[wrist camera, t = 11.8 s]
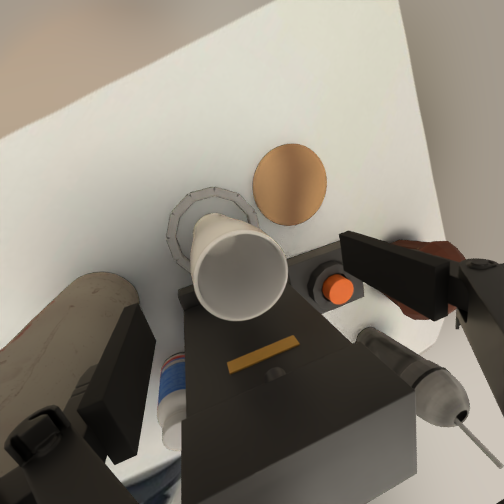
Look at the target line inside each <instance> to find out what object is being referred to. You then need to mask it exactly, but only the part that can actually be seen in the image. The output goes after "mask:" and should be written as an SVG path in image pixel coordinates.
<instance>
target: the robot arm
mask: <svg viewBox="0 0 504 504" xmlns="http://www.w3.org/2000/svg"><path fill="white" fill-rule="evenodd" d="M339 238H340V246H341V254H342V262H343V269H344V271H345V272H347V273H349V274H350V275H352V276H354V277H356V278H357V279H359V280H361V281H363V282H365V283H366V284H368V285H370V286H372V287H374V288H375V289H377V290H379V291H381V292H382V293H384V294H386V295H388V296H390V297H391V298H393V299H395V300H397V301H398V302H400V303H402V304H404V305H406V306H407V307H409V308H411V309H413V310H415V311H416V312H418V313H420V314H422V315H423V316H425V317H427V318H429V319H431V320H432V321H434V322H435V321H437V320H439V319H441V318H444V317H446V316H448V304H450V305H452V306H455V307H457V309H456V329H459V326H460V325H461V326H462V328H463V330H464V332H465V335H466V337H467V339H468V341H469V343H470V345H471V347H472V350H473V352H474V354H475V356H476V358H477V360H478V363H479V365H480V367H481V369H482V371H483V373H484V375H485V378H486V380H487V382H488V384H489V386H490V388H491V390H492V393H493V395H494V397H495V399H496V401H497V403H498V406H499V408H500V410H501V412H502V414H503V416H504V263H503V264H498V263H497V262H494V261H491V260H486V259H466V260H463V261H461V262H457V261H453V260H450V259H447V258H443V257H440V256H436V255H433V254H430V253H425V252H423V251H419V250H416V249H408V248H405V247H402V246H398V245H395V244H392V243H388V242H385V241H382V240H378V239H375V238H372V237H368V236H365V235H362V234H358V233H355V232H352V231H346V232H344V233H341V234H339ZM155 344H156V339H155V337H154V335H153V333H152V331H151V329H150V327H149V325H148V322H147V320H146V318H145V316H144V314H143V312H142V310H141V308H140V305H139V303H135V304H132V305H129V306H127V307H124V309H123V311H122V313H121V315H120V318H119V320H118V322H117V324H116V326H115V328H114V331H113V333H112V335H111V337H110V339H109V341H108V343H107V346H106V348H105V350H104V352H103V354H102V356H101V359H100V361H99V363H98V364H95V365H93V366H90V367H89V368H88V369H87V370H86V372H85V373H84V374H83V375H82V376H81V377H80V379H79V381H78V383H77V385H76V387H75V389H74V391H73V392H72V394H71V398H69V400H68V402H67V404H66V406H65V408H64V410H63V412H62V410H61V409H60V408H59V406H56V405H50V406H46V407H44V408H41V409H39V410H37V411H36V412H34V413H33V414H31V415H30V416H28V417H27V418H25V419H24V420H23V421H22V422H21V423H20V424H18V425H17V426H16V428H15V429H14V430H13V431H12V432H11V433H10V434H9V436H8V438H7V439H6V441H5V443H4V449H5V451H6V452H7V453H8V454H9V455H10V456H11V457H12V458H13V459H14V460H15V461H16V463H17V464H18V465H19V466H17V467H16V468H14V469H13V470H11V471H10V472H8V473H7V474H5V475H3V476H2V477H0V504H139V503H138V502H137V501H136V500H135V499H134V497H133V496H132V495H131V494H130V493H129V491H128V490H127V489H126V488H125V487H124V486H123V484H122V483H121V482H120V481H119V480H118V478H117V477H116V476H115V475H114V474H113V473H112V471H111V470H110V469H109V468H108V467H107V465H106V464H105V461H106V458H107V455H108V456H109V458H110V459H111V461H112V462H113V464H114V465H116V464H118V463H121V462H123V461H125V460H127V459H129V458H132V457H134V456H136V455H137V452H138V446H139V440H140V434H141V428H142V422H143V416H144V410H145V404H146V398H147V392H148V386H149V380H150V374H151V368H152V362H153V356H154V350H155ZM497 504H504V499H503V500H501V501H500V502H498V503H497Z"/></svg>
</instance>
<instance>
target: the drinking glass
mask: <svg viewBox="0 0 504 504" xmlns="http://www.w3.org/2000/svg"><path fill="white" fill-rule="evenodd" d="M190 271H191V277H192V282H193V286H194V290H195V293H196V296H197V298H198V300H199V302H200V303H201V305H202V306H203V307H204V308H205V309H206V310H207V311H208V312H210V313H211V314H212V315H214V316H216V317H218V318H221V319H224V320H229V321H244V320H249V319H252V318H255V317H257V316H259V315H261V314H263V313H265V312H266V311H268V310H269V309H270V308H271V307H272V306H273V305H274V304H275V303H276V302H277V301H278V299H279V298H280V297H281V295H282V293H283V291H284V289H285V286H286V283H287V278H288V264H287V260H286V257H285V254H284V252H283V250H282V249H281V247H280V246H279V244H278V243H277V242H276V241H275V240H273V239H272V238H271V237H270V236H268V235H267V234H266V233H265V232H263V231H262V230H260V229H259V228H257V227H255V226H253V225H252V224H249V223H247V222H244V221H241V220H238V219H234V218H230V217H227V216H225V215H223V214H220V213H211V214H207V215H205V216H203V217H202V218H201V219H199V220H198V222H197V223H196V225H195V227H194V230H193V243H192V248H191V254H190Z"/></svg>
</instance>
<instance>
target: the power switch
mask: <svg viewBox="0 0 504 504" xmlns="http://www.w3.org/2000/svg"><path fill="white" fill-rule="evenodd" d="M286 260H287V264H288V278H287V282H288V283H289V284H290V285H291V286H292V287H293V288H294V289H295V290H296V291H297V292H298V293H299V294H300V295H301V296H302V297H303V298H305V299H306V300H307V301H308V302H309V303H310V304H311V305H312V306H313V307H314V308H315V309H316V310H317V311H318V312H319V313H320V314H322V313H325V312H327V311H330V310H332V309H336V308H338V307H341V306H343V305H345V304H347V303H349V302H352V301H354V300H357V299H359V298H362V297H364V290H363V281H361V280H359V279H357V278H356V277H354V276H352V275H350V274H349V273H347V272H345V271H344V269H343V262H342V254H341V246H340V241H338V242H335V243H332V244H329V245H326V246H323V247H321V248H318V249H315V250H312V251H309V252H306V253H304V254H301V255H298V256H295V257H292V258H289V259H286ZM335 274H338V275H341V276H343V277H345V278H346V279H348V280H350V281H351V282H352V284H353V287H354V290H353V294H352V296H351V298H350V299H349V300H348V301H347V302H345V303H343V304H334V303H333V302H331V301H330V300H329V299H328V298H326V297H325V296H324V294H323V291H322V288H323V284H324V282H325V280H326V279H327V278H328V277H330V276H332V275H335Z"/></svg>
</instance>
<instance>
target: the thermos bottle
mask: <svg viewBox="0 0 504 504" xmlns="http://www.w3.org/2000/svg"><path fill="white" fill-rule="evenodd" d="M135 303H139V296H138V294H137V291H136V290H135V288H134V287H133V285H132V284H131V283H130V282H129V281H127V280H126V279H124V278H123V277H120V276H118V275H116V274H112V273H106V272H95V273H90V274H86V275H83V276H81V277H79V278H77V279H76V280H75V281H73V282H72V283H71V284H70V285H69V286H68V287H67V288H66V289H64V290H63V291H62V292H61V293H60V294H59V295H58V296H57V297H56V298H55V299H54V300H53V301H52V302H51V303H49V304H48V305H47V306H46V307H45V308H44V309H43V310H42V311H41V312H40V313H39V314H38V315H37V316H35V317H34V318H33V319H32V320H31V321H30V322H29V323H28V324H27V325H26V326H25V327H24V328H23V329H22V330H21V331H20V332H19V333H18V334H17V335H16V336H15V337H14V338H13V339H12V340H11V341H10V342H9V343H8V344H7V345H6V346H5V347H4V348H3V349H2V350H0V477H2V476H3V475H5V474H7V473H8V472H10V471H11V470H13V469H14V468H16V467H17V466H19V465H18V464H17V463H16V461H15V460H14V459H13V458H12V457H11V456H10V455H9V454H8V453H7V452H6V451H5V449H4V443H5V441H6V439H7V438H8V436H9V434H10V433H11V432H12V431H13V430H14V429H15V428H16V426H17V425H18V424H20V423H21V422H22V421H23V420H24V419H25V418H27V417H28V416H30V415H31V414H33V413H34V412H36V411H37V410H39V409H41V408H44V407H46V406H50V405H56V406H59V408H60V409H61V410H62V412H63V410H64V408H65V406H66V404H67V402H68V400H69V398H71V394H72V392H73V391H74V389H75V387H76V385H77V383H78V381H79V379H80V377H81V376H82V375H83V374H84V373H85V372H86V370H87V369H88V368H89V367H90V366H93V365H95V364H98V363H99V361H100V359H101V356H102V354H103V352H104V350H105V348H106V346H107V343H108V341H109V339H110V337H111V335H112V333H113V331H114V328H115V326H116V324H117V322H118V320H119V318H120V315H121V313H122V311H123V309H124V307H127V306H129V305H132V304H135Z"/></svg>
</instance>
